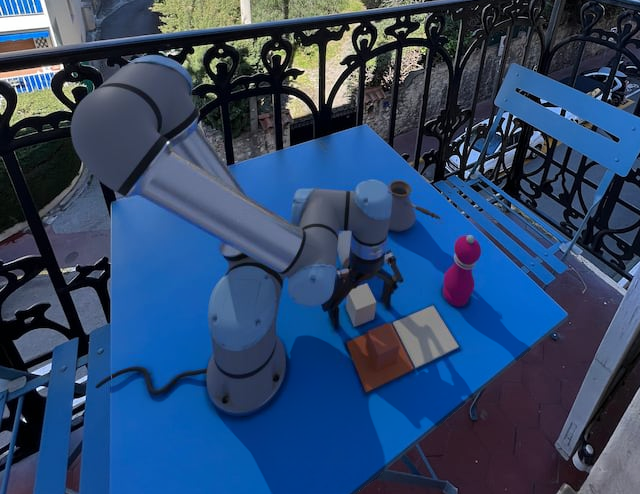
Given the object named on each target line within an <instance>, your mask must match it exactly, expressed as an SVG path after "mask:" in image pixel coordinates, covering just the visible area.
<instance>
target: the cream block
mask: <svg viewBox="0 0 640 494" xmlns="http://www.w3.org/2000/svg"><path fill="white" fill-rule="evenodd" d="M376 308H377V300H376V298H375V296H374V294H373V292H372V290H371V288H370V286H369V283H368V282H366V283H363V284H361V285H360V284H359V285H358V286H357V287H356V289H352V290H351V291H350V293H349V294H348V295H347V296H346V303H345V309H346V311H347V313H348V315H349V318H350V320H351V323H352V325H353V328H356V327H359V326H361V325H364V324H365V323H368V322H370V321H373V320H375V315H376Z"/></svg>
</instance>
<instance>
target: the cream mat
mask: <svg viewBox="0 0 640 494" xmlns="http://www.w3.org/2000/svg"><path fill="white" fill-rule="evenodd" d="M392 326H393V328H394V330H396V331H395V332H396V334H397V336H398V338H399V340H400V342H401V344H402V346H403V348H404V350H405V352H406V354H407V355H408V357H409V359H410V361H411V363H412V365H413V367H414V369H418V368H421V367H422V366H425V365H426V364H428V363H431V362H432V361H434V360H437V359H439V358H440V357H441V358H442V356H445V355H447V354H448V353H451V352H454V351H455V350H457V349H459V347H460V346H459V344H458V343H457V341H456V340H455V338H454V336H453V335H452V333H451V331H450V330H449V328H448V326H447V325H446V323H445V322H444V320H443V319H442V317H441V316H440V314H439V312H438V310H437V309H436V308H435V306H434V305H431V306H428V307H426V308H423V309H421V310H419V311H417V312H414V313H412V314H409V315H408V316H404V317H403V318H400V319H397V320H395V321H393V322H392Z"/></svg>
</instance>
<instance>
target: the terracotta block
mask: <svg viewBox="0 0 640 494" xmlns="http://www.w3.org/2000/svg"><path fill="white" fill-rule="evenodd" d="M366 334H367V339H366V346H365V349H366V352H367V354H368V356H369V359H370V361H371V363H372V366H373V368H374V370H375V372H378V371H380V370H382V369H384V368H386V367H388V366H390V365H393V364H395V363H397V358H398V353H399V348H400V344H399V342H398V340H397V338H396V336H395V334H394V332H393V330H392V328H391V326H390V322H386V323H383V324H381V325H379V326H377V327H375V328H371V329H369V330H367V332H366Z"/></svg>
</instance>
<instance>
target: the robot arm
mask: <svg viewBox="0 0 640 494" xmlns="http://www.w3.org/2000/svg"><path fill="white" fill-rule="evenodd" d="M193 86H194V83H193V79H192V76H191V75H190V73H189V71H188V70H187V69H186V68H185V67H184V66H183V65H182V64H181V63H179V62H178V61H176V60H175V59H172V58H171V57H165V56H163V55H160V54H159V55H158V54H149V55H143V56H140V57H138V58H136V59H134V60H132V61H131V62H129V63H127V64H126V65H122V66H121V67H120V69H119V70H117V71H116V72H115V73H114V74H113V75H112V76H110V77H109V78H108V79H107V80H106V81H104V82H103V83H102V84H101V85H99V86H98V87H97V88H96V89H94V90H93V91H91V92H89V93H88V94H87V95H85V96H84V97H83V99H81V101H80V102H79V103H78V105H77V106H76V108H75V109H74V112H73V115H72V117H71V124H70V135H71V141H72V145H73V148H74V150H75V153H76V154H77V156H78V158H79V159H80V161H81V162H82V164H83V165H84V167H86V168H87V170H88V171H89V172H90V173H91V174H92V175H93V177H95V178H96V179H97V180H98V181H99V182H100V183H101V184H103V185H104V186H106V187H107V188H108V189H110V190H112V191H113V192H115V193H117V194H119V195H121V196H123V197H125V198H127V199H128V198H132V197H136V196H137V197H138V196H139V197H141V198H143V199H145V200H146V201H148V202H150V203H152V204H153V205H155V206H157V207H159V208H161V209H163V210H165V211H166V212H168V213H170V214H172V215H173V216H175V217H177V218H179V219H180V220H183V221H184V222H186V223H188V224H190V225H192V226H193V227H195V228H196V229H199V230H200V231H202V232H204V233H206V234H208V235H210V236H211V237H214V238H215V239H217V240H218V244H217V245H218V246H217V247H218V251H219V253H220V254H221V256H222V257H223V258H224V260H225V261H226V262H227V263H228V268H227V271H226V273H225V275H223V276H222V277H221V278H220V280H219V281H218V282H217V283H216V284H215V286H214V288H213V289H212V292H211V295H210V297H209V302H208V307H207V325H208V330H209V332H210V340H211V346H212V354H211V356H210V358H209V361H208V364H207V367H205V368H201V369H195V370H189V371H183V372H181V373H179V374H178V375H176V376H174V377H173V378H172V379H171V380H170V381H169V382H168V383H167V384H166V385H165V386H164V387H162V388H160V389H154V388H153V387H152V383H151V377H150V373H149V371H148V369H147V368H146V367H143V366H130V367H125V368H123V369H120V370H118V371H115V372H114V373H112V374H110V375H108V376H106V377H105V378H103V379H102V380H101V381H99V382H98V383H97V384H96V385H95V389H99V388H101V387H102V386H103V385H105V384H106V383H108V382H109V381H111V380H113V379H114V378H117V377H119V376H121V375H123V374H127V373H132V372H140V373H142V374H144V378H145V385H146V389H147V391H148V393H149V394H151V395H153V396H158V395H162V394H163V393H165V392H166V391H168V390H169V389H171V387H172V386H173V385H174V384H175V383H177V381H179V380H180V379H183V378H186V377H191V376H197V375H198V376H199V375H203V374H206V378H205V381H206V388H207V393H208V397H209V399H210V401H211V403H212V404H213V406H214V407H215V408H216V409H217V410H218V411H219V412H221V413H223V414H225V415H228V416H230V417H237V418H239V417H246V416H250V415H253V414H255V413H257V412H259V411H261V410H263V409H264V408H265V407H266V406H268V405H269V404H270V403H271V402H272V401H273V400H274V399H275V397H277V395H278V393H279V391H280V389H281V388H282V386H283V383H284V380H285V376H286V372H287V355H286V350H285V346H284V344H283V342H282V341H281V339H280V338H279V336H278V335H277V320H278V319H277V317H278V311H279V308H280V302H281V296H282V292H283V287H284V283H285V279H287V281H286V284H287V294H288V296H289V297H290V298H291V301H293V302H294V303H296V304H297V305H299V306H301V307H302V306H303V307H310V308H311V307H318V306H319V307H320V306H321V310H322V312H323V313H326V312H327V315H328V318H329V319H330V321H331V323H332V326H333V328H334V330H337V329H339V318H340V307H339V306H340V305H341V304H342V302H343V301H344V300H345V299H346V298H347V295H348V294H349V293H350V291H351V290H352V289H356V287H358V286H360V284H362V283H364V282H366V281H369V280H373V279H374V278H376V279H378V280H381V281H382V282H383V283H382V284H383V285H382V290H381V301H382V302H383V305H384V306H385V309H388V308H390V307H391V306H390V305H391V299H392V295H394V294H395V291H397V290H398V289H399V285H398V283H399V284H402V283H404V277H403V276H402V273H401V272H400V270H399V268H398V266H397V257H396V256H395V255H394V253H393V251H392V250H391V249H387V243H388V234H389V223H390V217H391V213H392V212H391V208H392V193H391V190H390V189H389V185H387V184H386V183H384V182H383V181H381V180H379V179H367V180H366V181H364V180H363V181H361V182H359V183H358V184H357V185H356V187H355V189H354V190H341V189H340V190H339V189H326V188H325V189H324V188H318V187H315V188H314V187H313V188H311V187H310V188H308V187H307V188H298V189H297V190H296V191H294V195H293V198H292V205H291V206H292V207H291V212H290V213H291V214H290V221H289V220H287V219H286V218H284V217H283V216H281V215H279V214H278V213H276V212H274V211H273V210H271V209H269V208H267V207H266V206H264V205H263V204H261V203H260V202H258V201H257V200H254V199H253V198H251V197H250V196H248V195H247V194H246V193H245V190H243V188H242V187H241V185H240V184H239V182H238V181H237V179H236V178H235V177H234V175H233V174H232V171H230V169H229V167H228V165H226V164H225V162H224V160H223V159H222V157H221V156H220V154H219V153H218V152H217V150H216V149H215V147H214V146H213V144H212V142H211V141H210V140H209V138H208V137H207V136H206V134H205V132H204V131H203V130H202V128H201V126H199V124H198V122H199V119H200V115H201V112H200V110H199V108H198V107H197V105H196V104H195V102H194V101H193V99H192V97H191V96H192V94H193ZM347 230H348V231H351V241H350V253H349V265H348V267H347V269H341V268H340V267H337V262H338V261H337V260H338V259H337V258H338V252H337V247H338V237H339V234H340V232H344V231H347ZM386 249H387V250H386ZM385 264H386V265H388V266H389V267H390V269H391V271H392V273H393V274H391V273H389V272H388V271H386V270H385V269H384V268H383V267H384V265H385ZM111 375H112V379H111Z"/></svg>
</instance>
